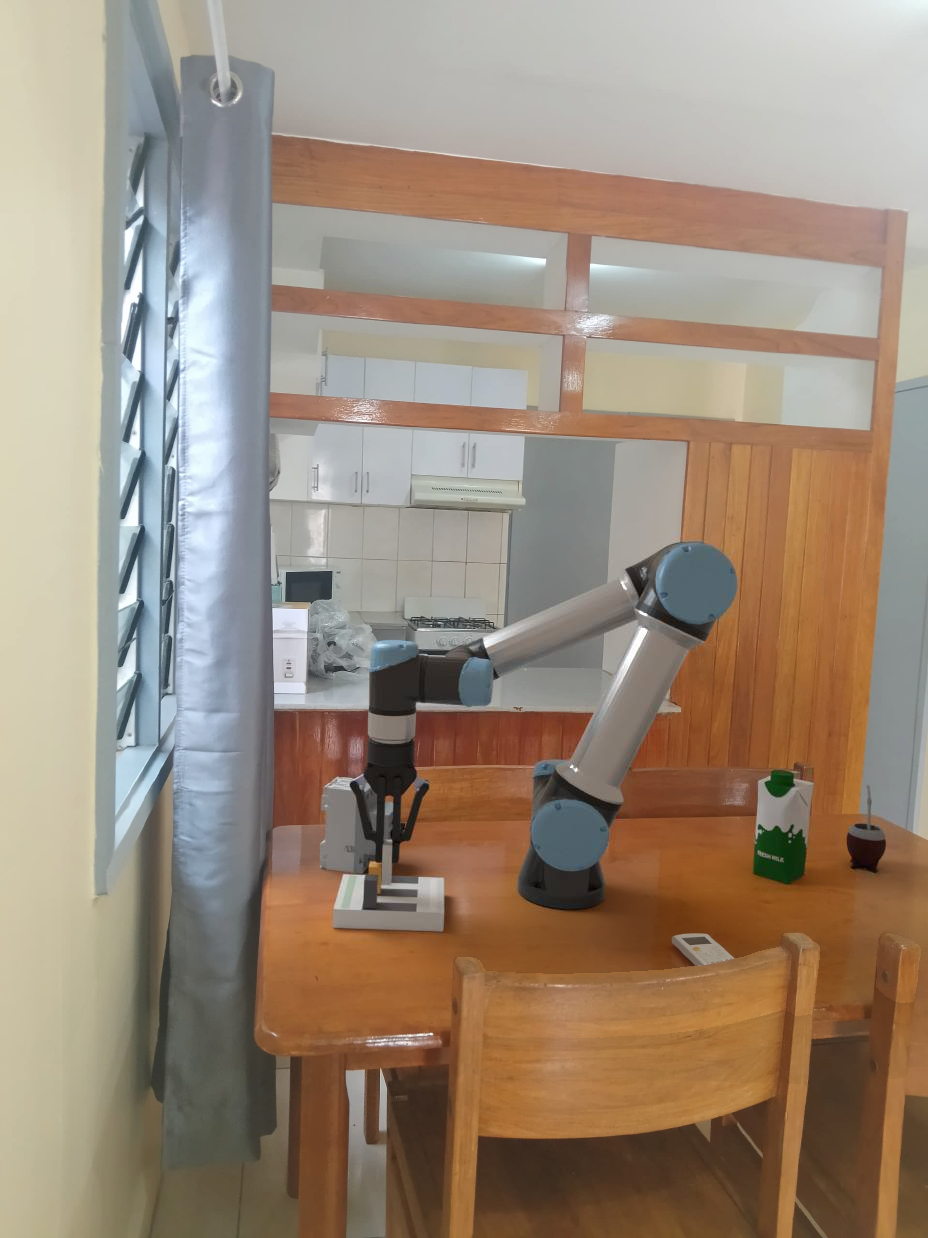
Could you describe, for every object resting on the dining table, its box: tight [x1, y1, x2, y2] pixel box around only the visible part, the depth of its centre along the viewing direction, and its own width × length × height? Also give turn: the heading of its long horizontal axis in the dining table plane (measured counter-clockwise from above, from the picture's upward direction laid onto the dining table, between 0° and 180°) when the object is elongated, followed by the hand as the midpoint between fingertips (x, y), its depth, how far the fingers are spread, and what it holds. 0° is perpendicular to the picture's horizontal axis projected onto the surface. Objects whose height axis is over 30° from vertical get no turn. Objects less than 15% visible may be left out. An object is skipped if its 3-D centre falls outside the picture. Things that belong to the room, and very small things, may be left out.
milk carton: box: [752, 769, 815, 885], centre depth 167 cm, size 9×9×20 cm
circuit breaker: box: [319, 776, 406, 875], centre depth 162 cm, size 8×14×15 cm, turn 78°
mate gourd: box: [846, 784, 887, 874], centre depth 174 cm, size 8×8×15 cm
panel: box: [332, 873, 445, 932], centre depth 144 cm, size 17×14×3 cm
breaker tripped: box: [368, 861, 382, 894], centre depth 143 cm, size 2×2×4 cm
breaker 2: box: [363, 873, 378, 908], centre depth 138 cm, size 2×2×4 cm
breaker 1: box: [369, 849, 376, 864], centre depth 149 cm, size 2×2×4 cm
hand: (386, 881), depth 144 cm, fingers closed
